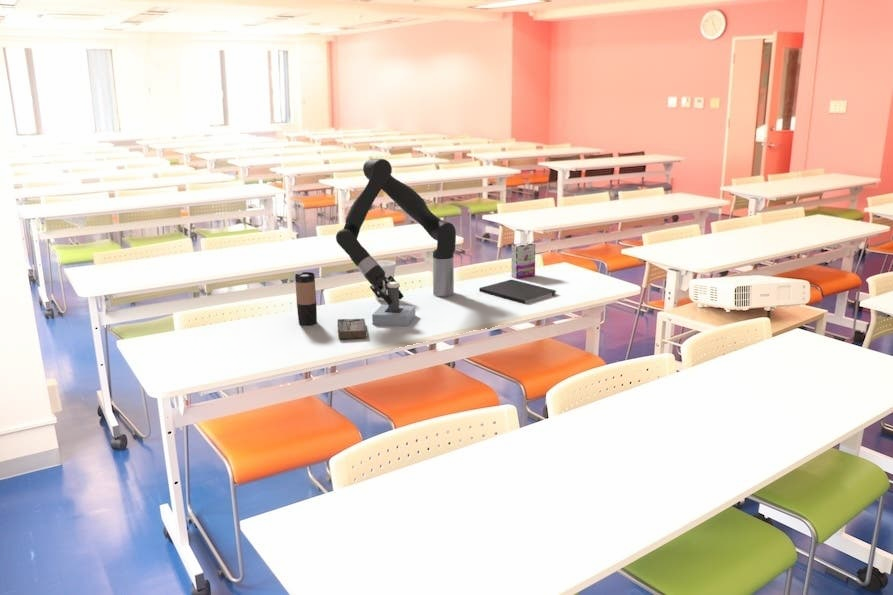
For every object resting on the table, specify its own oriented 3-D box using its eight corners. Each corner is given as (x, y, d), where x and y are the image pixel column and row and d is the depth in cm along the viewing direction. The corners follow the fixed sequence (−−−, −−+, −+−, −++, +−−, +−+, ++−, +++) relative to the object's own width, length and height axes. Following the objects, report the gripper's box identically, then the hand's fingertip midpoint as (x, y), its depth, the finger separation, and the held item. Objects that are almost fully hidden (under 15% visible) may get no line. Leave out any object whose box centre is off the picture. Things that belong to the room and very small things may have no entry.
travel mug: (315, 325, 290) (312, 276, 284) (296, 325, 290) (292, 276, 285) (319, 319, 297) (316, 271, 292) (300, 319, 298) (297, 272, 292)
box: (338, 339, 273) (338, 331, 273) (337, 326, 290) (337, 318, 289) (367, 338, 275) (367, 330, 274) (364, 325, 292) (364, 317, 291)
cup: (368, 302, 321) (367, 266, 316) (371, 294, 332) (369, 260, 328) (396, 301, 321) (395, 266, 316) (397, 294, 332) (396, 259, 328)
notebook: (479, 292, 336) (525, 305, 316) (479, 287, 336) (525, 300, 316) (511, 283, 350) (557, 295, 330) (511, 279, 350) (557, 290, 330)
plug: (389, 317, 300) (388, 281, 295) (401, 318, 299) (400, 282, 294) (386, 321, 295) (385, 284, 291) (398, 322, 294) (397, 285, 290)
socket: (382, 313, 305) (382, 304, 304) (415, 315, 302) (415, 306, 301) (372, 324, 292) (372, 314, 290) (406, 326, 289) (406, 316, 288)
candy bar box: (529, 273, 366) (530, 241, 362) (535, 276, 362) (536, 243, 358) (510, 276, 361) (511, 243, 357) (516, 279, 357) (516, 245, 352)
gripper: (367, 268, 288) (393, 299, 286) (385, 260, 300) (411, 290, 298) (356, 279, 291) (381, 311, 290) (375, 271, 304) (400, 301, 302)
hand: (396, 300), depth 294 cm, fingers open, 8 cm apart
